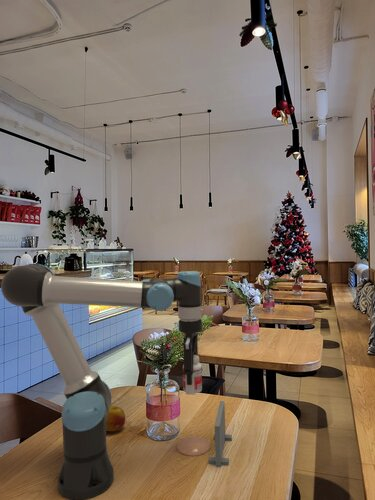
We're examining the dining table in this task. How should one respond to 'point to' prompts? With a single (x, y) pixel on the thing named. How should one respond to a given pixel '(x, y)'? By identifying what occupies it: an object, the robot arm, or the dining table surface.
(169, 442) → the dining table surface
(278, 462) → the dining table surface
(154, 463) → the dining table surface
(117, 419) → the fruit
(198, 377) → the pill bottle
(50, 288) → the robot arm
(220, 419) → the screen
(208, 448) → the coaster
